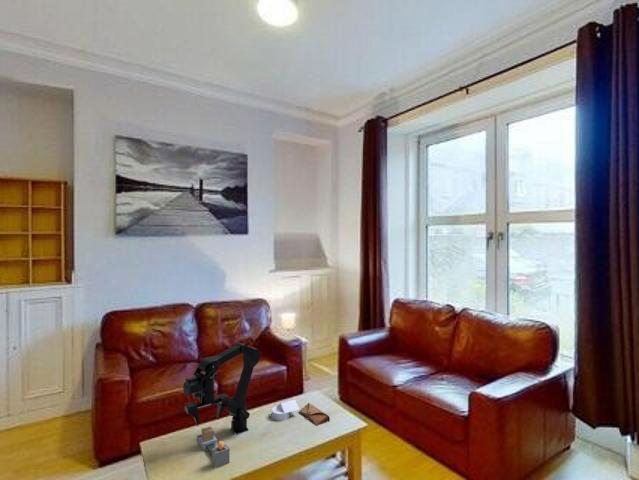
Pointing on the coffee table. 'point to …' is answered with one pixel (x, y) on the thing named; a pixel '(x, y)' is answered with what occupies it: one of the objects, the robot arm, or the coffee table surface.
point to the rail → (208, 446)
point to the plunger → (220, 445)
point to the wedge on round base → (284, 410)
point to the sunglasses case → (314, 414)
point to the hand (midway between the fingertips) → (207, 422)
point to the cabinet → (220, 456)
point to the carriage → (207, 437)
